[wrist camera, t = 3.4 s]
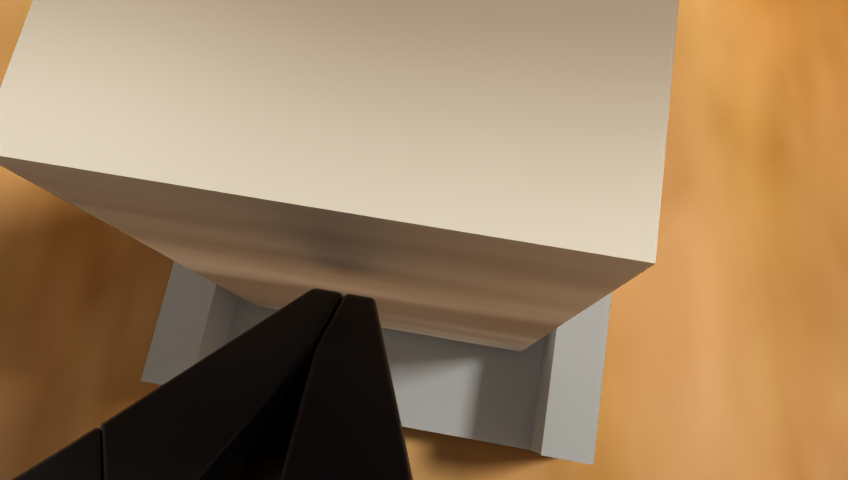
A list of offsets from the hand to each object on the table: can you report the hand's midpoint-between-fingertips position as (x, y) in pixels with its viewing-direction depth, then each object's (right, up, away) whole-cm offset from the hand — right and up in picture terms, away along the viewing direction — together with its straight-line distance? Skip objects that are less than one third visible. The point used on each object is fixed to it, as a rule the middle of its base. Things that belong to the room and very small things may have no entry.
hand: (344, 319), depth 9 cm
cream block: (+1, +1, +6) cm, 6 cm away
